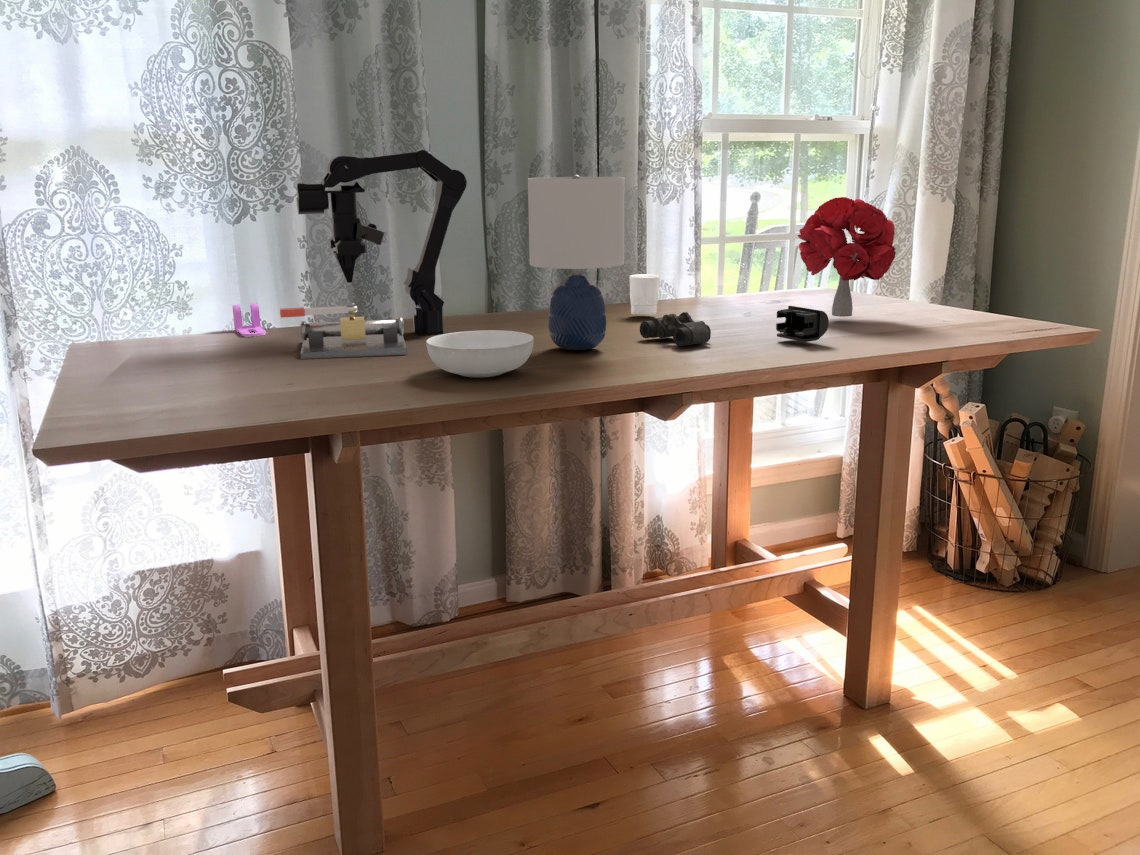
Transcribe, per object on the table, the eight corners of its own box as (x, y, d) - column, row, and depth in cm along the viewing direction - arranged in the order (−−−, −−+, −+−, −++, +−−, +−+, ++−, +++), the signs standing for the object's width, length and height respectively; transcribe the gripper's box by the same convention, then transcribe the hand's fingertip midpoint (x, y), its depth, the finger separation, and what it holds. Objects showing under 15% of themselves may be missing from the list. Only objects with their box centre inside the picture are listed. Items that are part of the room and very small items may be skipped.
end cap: (828, 339, 220) (830, 309, 218) (805, 342, 216) (807, 312, 214) (796, 333, 228) (797, 304, 226) (774, 336, 224) (775, 307, 223)
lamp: (577, 335, 227) (576, 173, 217) (642, 346, 213) (644, 174, 203) (512, 347, 213) (507, 175, 203) (577, 360, 199) (575, 175, 189)
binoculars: (674, 332, 232) (675, 306, 230) (721, 342, 219) (722, 314, 217) (638, 337, 226) (639, 310, 224) (684, 348, 213) (685, 319, 211)
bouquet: (850, 306, 266) (857, 194, 258) (909, 319, 245) (919, 197, 237) (783, 311, 258) (789, 196, 250) (838, 325, 237) (846, 199, 229)
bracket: (235, 332, 237) (232, 304, 235) (258, 330, 240) (255, 302, 238) (243, 340, 226) (240, 311, 224) (268, 338, 229) (265, 309, 227)
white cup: (659, 315, 254) (660, 277, 252) (629, 315, 255) (629, 277, 252) (657, 311, 262) (658, 274, 259) (628, 311, 262) (628, 274, 260)
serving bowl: (527, 360, 201) (526, 327, 199) (541, 382, 181) (541, 345, 179) (426, 364, 197) (424, 331, 196) (429, 387, 178) (427, 350, 176)
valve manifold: (401, 338, 226) (400, 304, 224) (407, 354, 207) (405, 317, 205) (304, 343, 221) (301, 308, 219) (301, 360, 203) (297, 322, 200)
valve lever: (357, 311, 214) (356, 302, 213) (358, 313, 211) (357, 304, 211) (280, 315, 209) (279, 306, 208) (280, 317, 206) (280, 308, 206)
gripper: (386, 214, 214) (390, 285, 218) (374, 210, 231) (378, 276, 235) (335, 215, 210) (340, 287, 214) (326, 211, 227) (331, 278, 231)
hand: (349, 282), depth 224 cm, fingers closed
